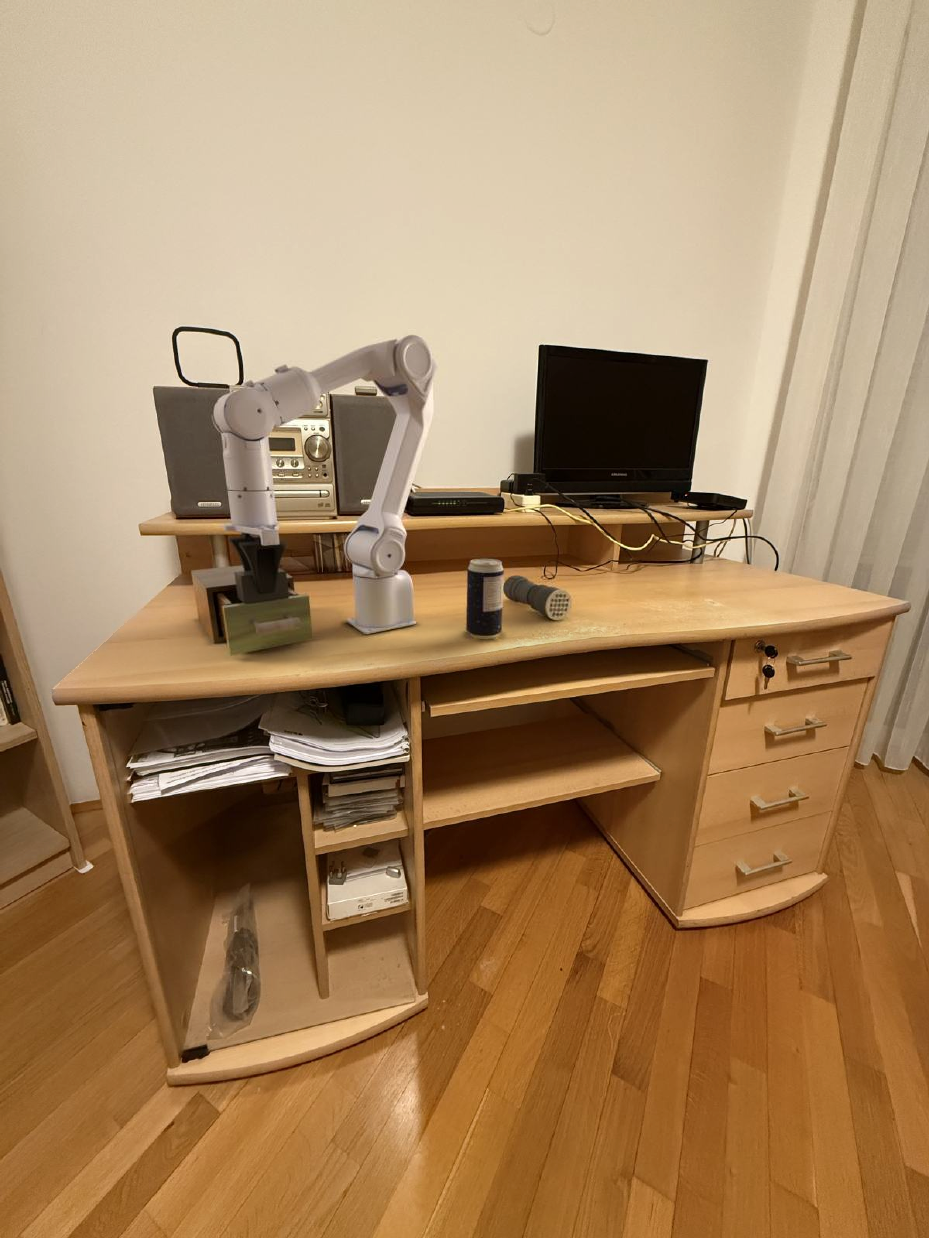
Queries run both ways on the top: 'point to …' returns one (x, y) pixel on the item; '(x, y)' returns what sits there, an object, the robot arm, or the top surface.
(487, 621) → the beverage can
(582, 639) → the top surface
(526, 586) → the flashlight
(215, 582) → the cabinet
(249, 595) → the charcoal rectangular block
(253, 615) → the drawer
